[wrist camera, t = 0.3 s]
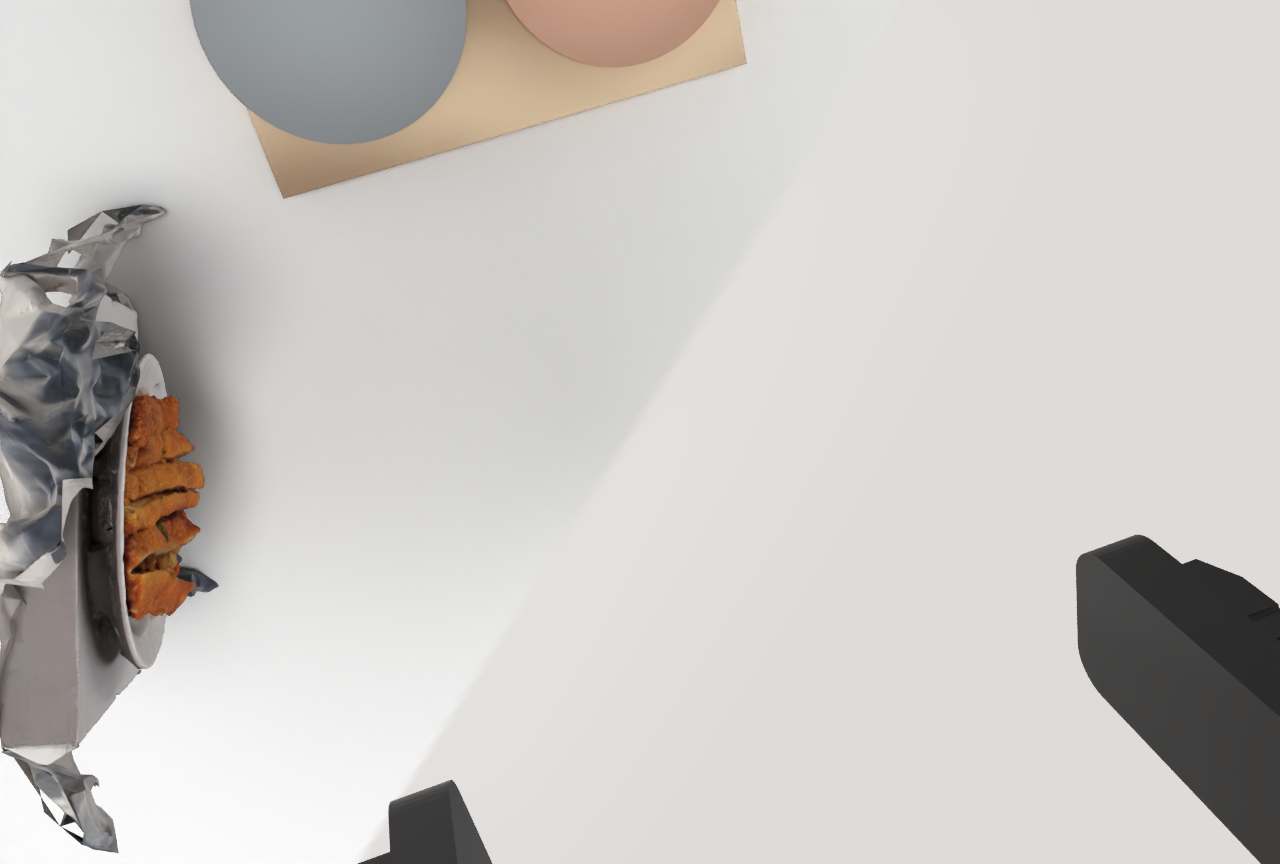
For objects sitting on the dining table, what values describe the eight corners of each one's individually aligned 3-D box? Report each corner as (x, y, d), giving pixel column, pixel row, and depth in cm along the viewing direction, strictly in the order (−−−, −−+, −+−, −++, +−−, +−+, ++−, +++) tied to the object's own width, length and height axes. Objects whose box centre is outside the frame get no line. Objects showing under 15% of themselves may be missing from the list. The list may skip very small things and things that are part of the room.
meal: (233, 587, 41) (188, 846, 29) (112, 592, 40) (16, 864, 28) (210, 202, 35) (141, 341, 23) (66, 195, 33) (-83, 338, 22)
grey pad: (142, -103, 30) (140, -103, 29) (417, -173, 30) (417, -174, 30) (255, 173, 33) (254, 175, 33) (497, 103, 34) (498, 104, 34)
